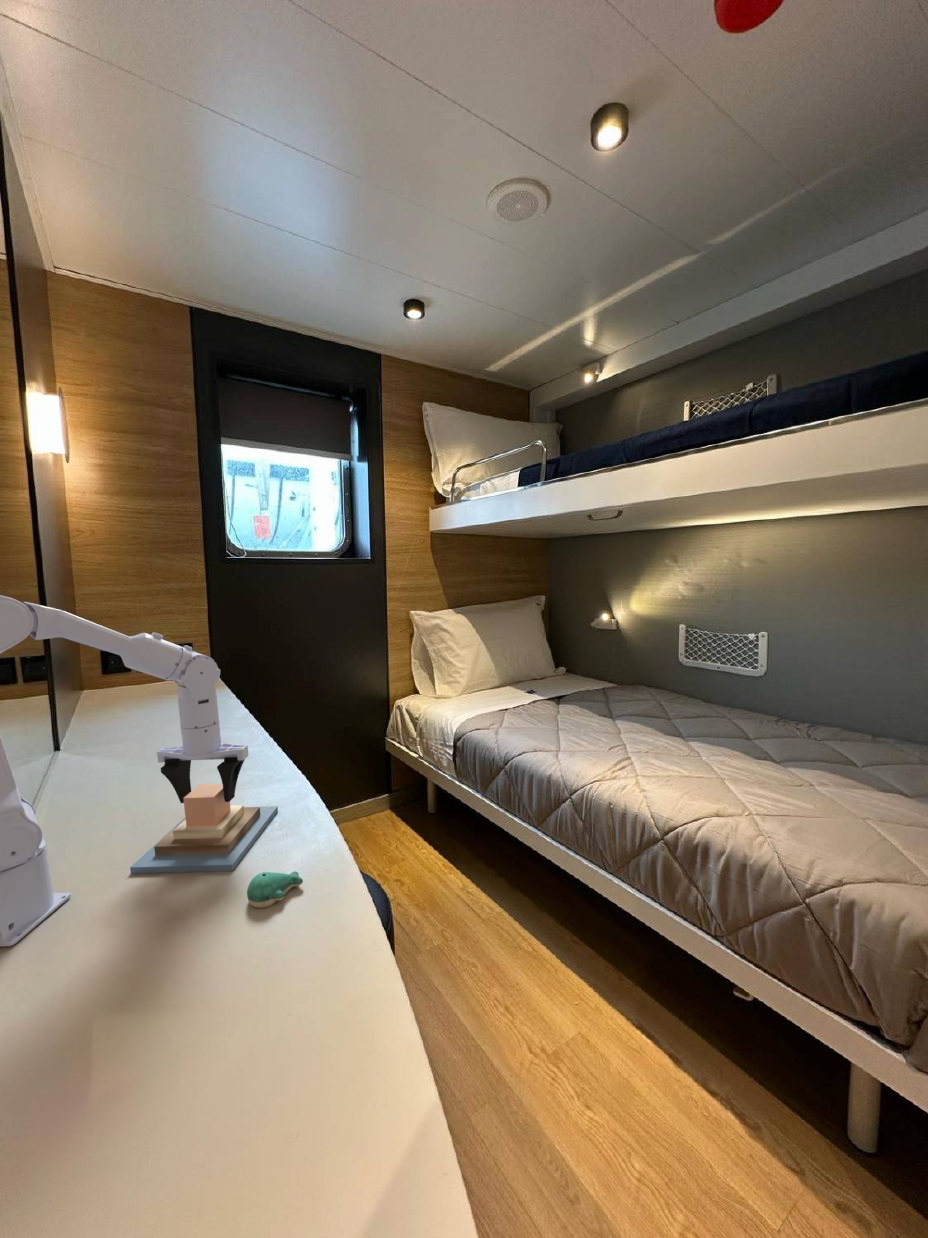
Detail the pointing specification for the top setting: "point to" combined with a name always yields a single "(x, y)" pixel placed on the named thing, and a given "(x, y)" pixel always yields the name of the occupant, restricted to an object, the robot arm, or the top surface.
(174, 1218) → the top surface
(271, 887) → the whale figurine
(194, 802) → the terracotta block
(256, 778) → the top surface
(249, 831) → the plinth board
